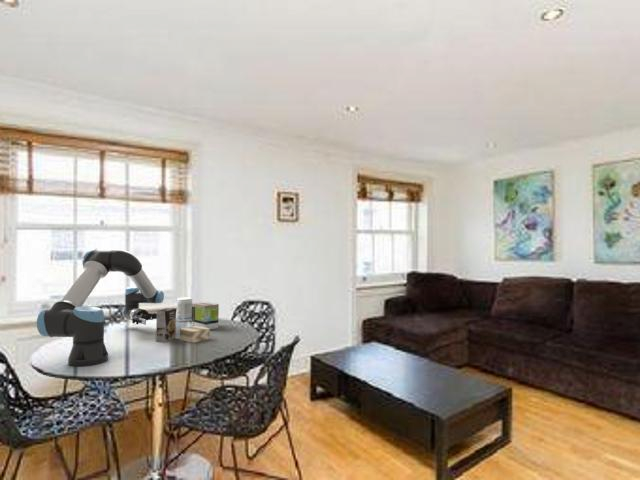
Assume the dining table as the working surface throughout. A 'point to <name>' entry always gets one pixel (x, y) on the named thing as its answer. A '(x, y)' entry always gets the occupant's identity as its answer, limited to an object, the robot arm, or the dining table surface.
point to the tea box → (205, 314)
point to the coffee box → (166, 325)
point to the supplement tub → (184, 309)
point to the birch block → (194, 334)
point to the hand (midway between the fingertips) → (157, 320)
